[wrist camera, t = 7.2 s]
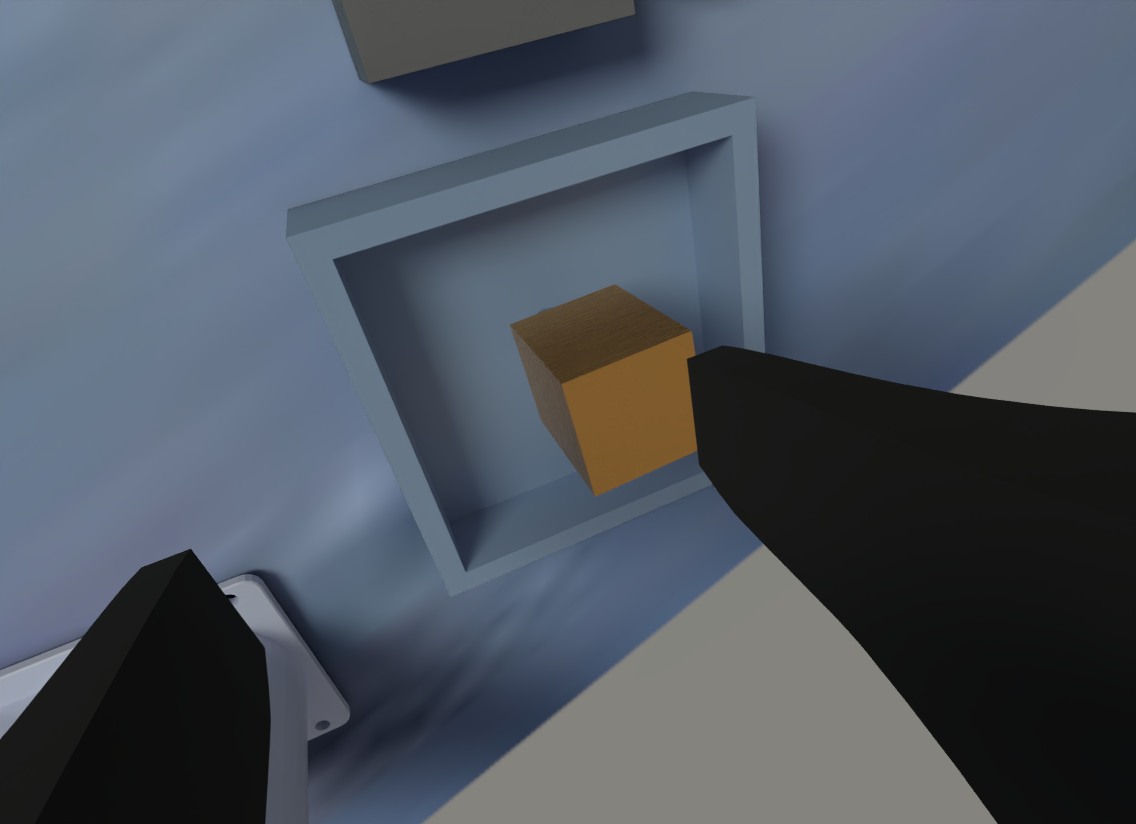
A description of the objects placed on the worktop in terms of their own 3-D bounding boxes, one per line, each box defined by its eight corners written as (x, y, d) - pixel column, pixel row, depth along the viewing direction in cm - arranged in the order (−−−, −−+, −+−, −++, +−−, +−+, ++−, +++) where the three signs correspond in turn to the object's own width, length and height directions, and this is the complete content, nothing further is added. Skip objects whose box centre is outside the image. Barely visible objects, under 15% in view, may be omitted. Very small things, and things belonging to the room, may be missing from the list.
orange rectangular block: (518, 389, 20) (595, 496, 14) (488, 300, 18) (561, 384, 13) (605, 353, 20) (710, 444, 15) (583, 264, 19) (691, 330, 13)
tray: (433, 536, 22) (450, 597, 19) (287, 209, 16) (285, 237, 13) (721, 419, 24) (769, 460, 22) (692, 91, 18) (755, 96, 15)
